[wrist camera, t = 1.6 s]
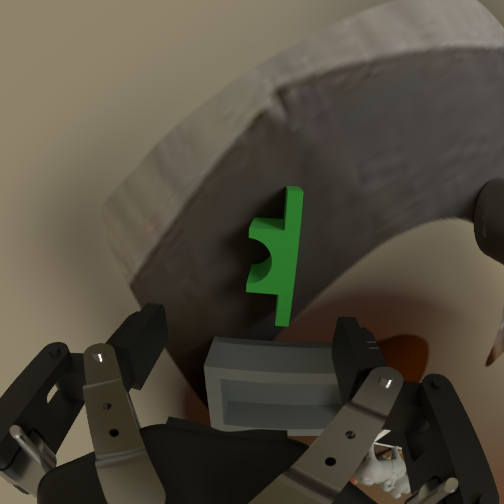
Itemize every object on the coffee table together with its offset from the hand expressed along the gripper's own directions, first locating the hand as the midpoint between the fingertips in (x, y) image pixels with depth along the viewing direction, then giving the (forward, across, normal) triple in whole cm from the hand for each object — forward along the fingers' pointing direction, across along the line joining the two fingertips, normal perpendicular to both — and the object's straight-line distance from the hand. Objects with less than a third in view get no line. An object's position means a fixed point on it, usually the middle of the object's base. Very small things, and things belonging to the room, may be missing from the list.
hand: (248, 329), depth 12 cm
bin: (+14, -4, +16) cm, 22 cm away
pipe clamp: (+14, -1, 0) cm, 14 cm away
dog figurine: (+14, -23, +37) cm, 46 cm away
